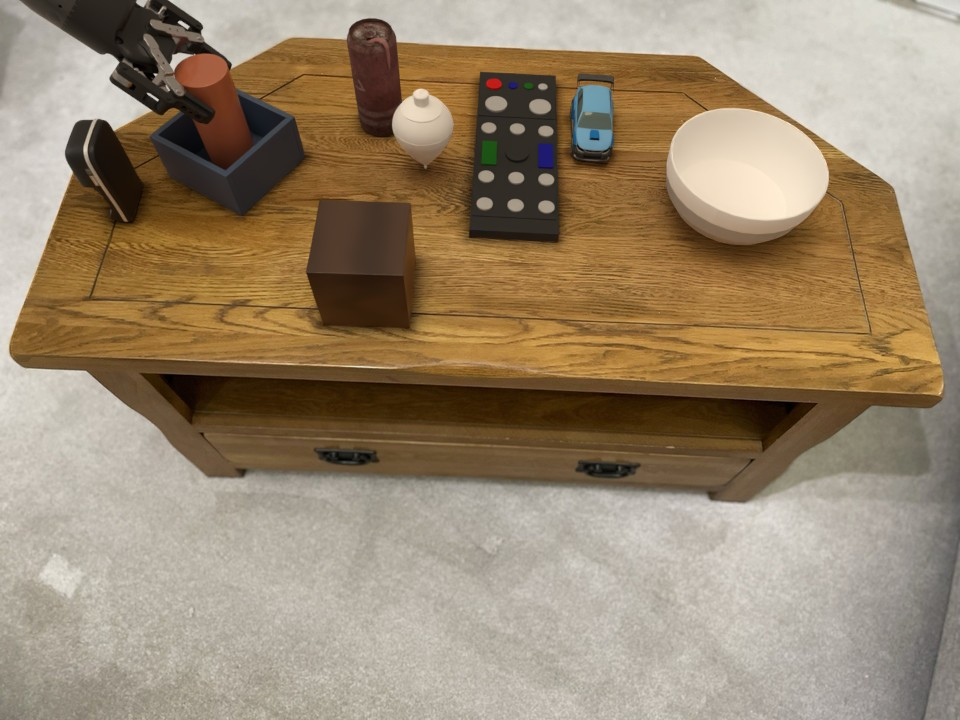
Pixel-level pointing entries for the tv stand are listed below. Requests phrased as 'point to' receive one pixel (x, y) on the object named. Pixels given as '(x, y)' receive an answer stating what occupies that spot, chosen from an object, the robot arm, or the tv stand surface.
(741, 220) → the bowl
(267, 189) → the tub
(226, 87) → the orange cylinder rod
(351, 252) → the stand
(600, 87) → the toy car
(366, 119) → the can
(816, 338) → the tv stand surface
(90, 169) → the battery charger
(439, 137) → the spinning top
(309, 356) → the tv stand surface
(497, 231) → the remote control
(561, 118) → the tv stand surface
